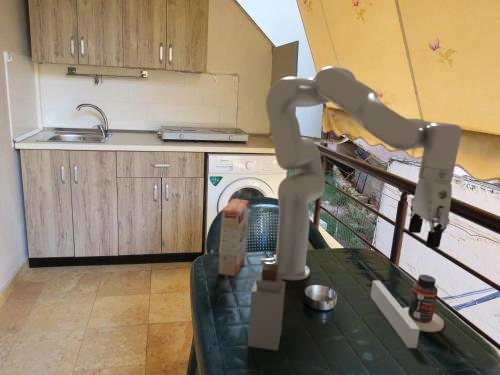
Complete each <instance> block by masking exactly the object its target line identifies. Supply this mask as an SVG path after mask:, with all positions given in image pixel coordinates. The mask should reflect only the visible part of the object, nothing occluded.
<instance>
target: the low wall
mask: <svg viewBox="0 0 500 375" xmlns="http://www.w3.org/2000/svg"><path fill="white" fill-rule="evenodd" d="M370 298H371V299H372V301H373V302H374V303H375V305H376V306H377V307H378V309H379V310H380V311H381V313H382V314H383V315H384V317H385V318H386V320H387V321H388V322H389V324H390V325H391V327H392V328H393V329H394V331H395V332H396V333H397V335H398V336H399V337H400V339H401V341H402V342H403V343H404V345H405V346H406V347H407V349H417V348H418V344H419V343H418V341H419V336H420V328H419V327H418V326H417V325H416V324H415V322H414V321H413V320H412V319H411V318H410V316H409V315H408V314H407V313H406V312H405V310H404V309H403V308H404V307H402V306H401V305H400V303H399V302H398V301H397V300H396V298H395V297H394V296H393V295H392V294H391V292H390V291H389V290H388V289H387V287H386V286H385V285H384V284H383V283H382V282H381V281H380V280H372V285H371V291H370Z"/></svg>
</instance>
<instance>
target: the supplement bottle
mask: <svg viewBox="0 0 500 375" xmlns="http://www.w3.org/2000/svg"><path fill="white" fill-rule="evenodd" d="M438 291H439V290H438V288H437V286H436V278H435V277H433V276H431V275H429V274H420V275H418V279H417V281H415V282H414V283H413V286H412V289H411V295H410V300H409V306H408V307H409V310H408V314H409V316H410V317H411V318H412V319H414V320H416V321H418V322H423V323H427V322H430V321H431V320H432V318H433V314H434V313H435V307H436V302H437V296H438Z"/></svg>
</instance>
